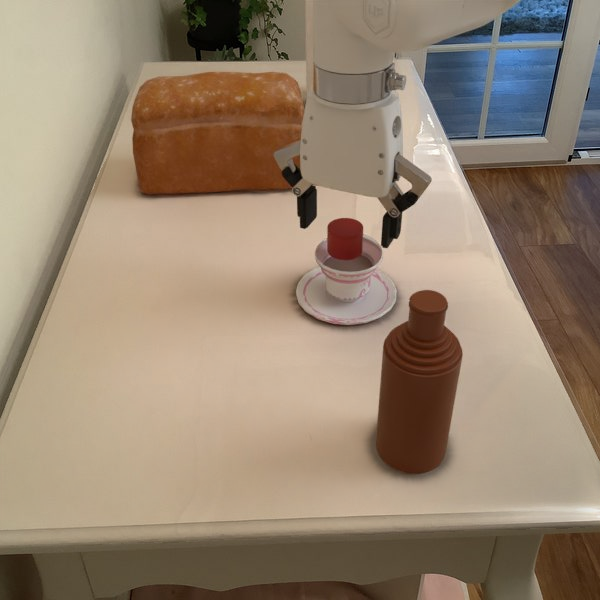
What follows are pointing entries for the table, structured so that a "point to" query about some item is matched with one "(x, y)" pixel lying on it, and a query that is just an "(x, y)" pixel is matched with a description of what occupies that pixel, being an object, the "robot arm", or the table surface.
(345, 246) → the cap
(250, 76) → the bread
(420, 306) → the bottle
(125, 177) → the table surface
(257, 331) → the table surface
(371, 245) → the teacup
